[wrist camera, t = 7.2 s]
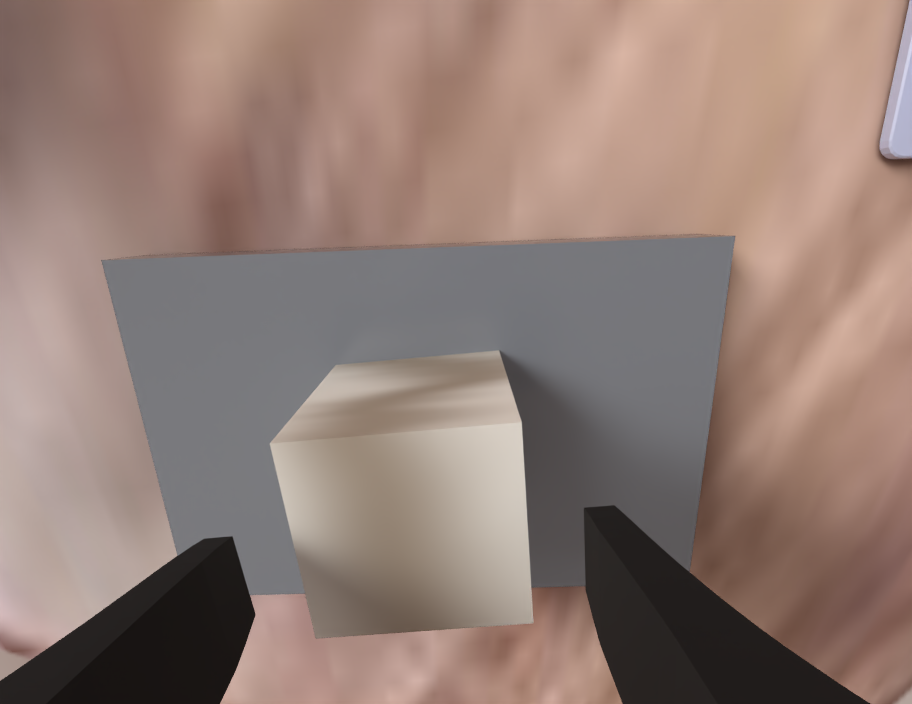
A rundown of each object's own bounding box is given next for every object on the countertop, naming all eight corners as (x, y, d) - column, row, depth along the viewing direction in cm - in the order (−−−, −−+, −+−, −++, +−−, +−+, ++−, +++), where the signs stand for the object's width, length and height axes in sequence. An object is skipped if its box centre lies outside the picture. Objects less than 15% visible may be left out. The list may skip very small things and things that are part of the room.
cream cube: (499, 350, 13) (521, 422, 9) (508, 493, 15) (533, 623, 10) (335, 365, 14) (269, 443, 9) (360, 505, 15) (315, 638, 10)
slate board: (698, 233, 14) (735, 235, 13) (663, 544, 18) (688, 583, 16) (147, 255, 15) (101, 260, 13) (216, 556, 18) (188, 596, 16)
